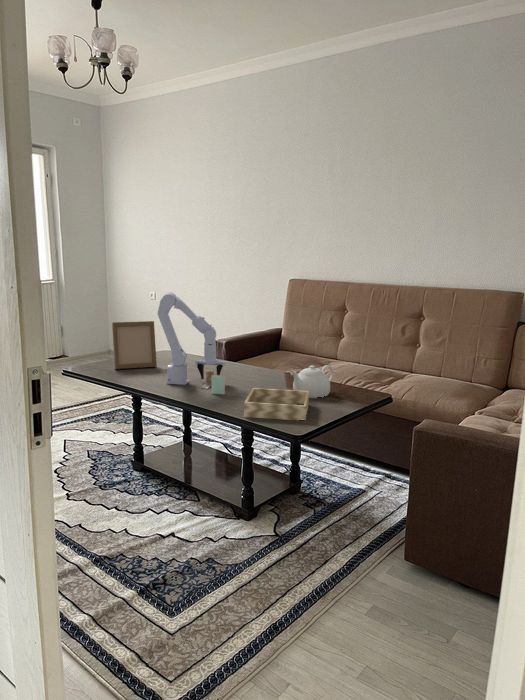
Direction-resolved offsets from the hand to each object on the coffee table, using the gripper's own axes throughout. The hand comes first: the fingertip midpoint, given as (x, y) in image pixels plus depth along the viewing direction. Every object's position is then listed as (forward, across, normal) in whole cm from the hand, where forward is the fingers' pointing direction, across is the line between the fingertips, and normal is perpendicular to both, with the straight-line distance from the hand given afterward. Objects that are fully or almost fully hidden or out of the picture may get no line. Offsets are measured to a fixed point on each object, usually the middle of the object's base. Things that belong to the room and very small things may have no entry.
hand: (210, 379), depth 267 cm
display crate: (+2, +37, -38) cm, 53 cm away
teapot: (+2, +50, -9) cm, 51 cm away
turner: (+2, 0, -5) cm, 5 cm away
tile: (+2, +8, -18) cm, 20 cm away
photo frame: (+2, -49, +26) cm, 55 cm away
